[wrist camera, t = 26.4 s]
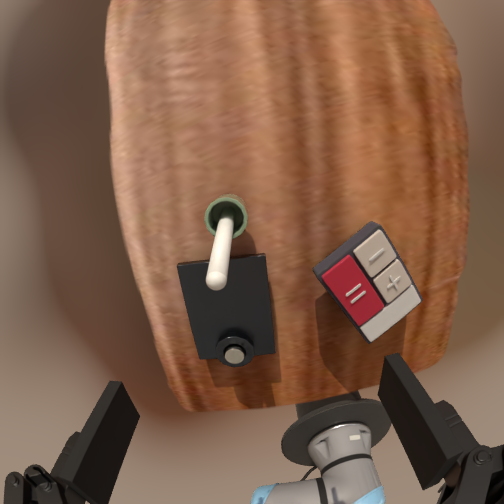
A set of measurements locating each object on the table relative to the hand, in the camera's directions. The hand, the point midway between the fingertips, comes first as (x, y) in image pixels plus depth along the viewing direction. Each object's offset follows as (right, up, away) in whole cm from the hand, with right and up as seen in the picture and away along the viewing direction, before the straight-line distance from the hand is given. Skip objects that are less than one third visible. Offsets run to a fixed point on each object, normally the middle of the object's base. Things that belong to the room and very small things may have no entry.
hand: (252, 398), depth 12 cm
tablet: (-3, -1, +28) cm, 28 cm away
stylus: (-3, +12, +24) cm, 27 cm away
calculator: (+17, +3, +27) cm, 32 cm away
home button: (-3, -8, +28) cm, 29 cm away
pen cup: (-3, +12, +24) cm, 27 cm away
